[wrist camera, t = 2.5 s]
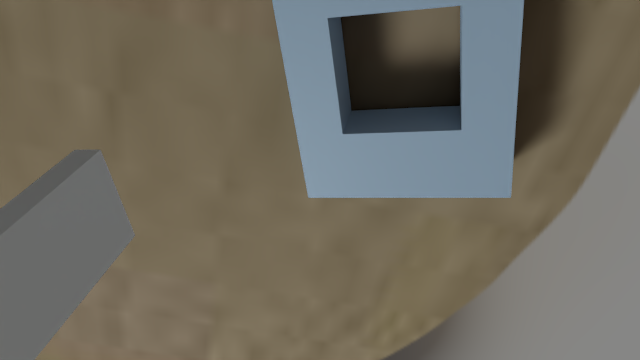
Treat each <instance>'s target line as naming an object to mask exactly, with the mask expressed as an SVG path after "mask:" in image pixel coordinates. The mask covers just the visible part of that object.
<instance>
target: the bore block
mask: <svg viewBox="0 0 640 360" xmlns="http://www.w3.org/2000/svg"><path fill="white" fill-rule="evenodd" d="M272 2H273V7H274V13H275V18H276V24H277V29H278V35H279V40H280V46H281V51H282V56H283V62H284V67H285V73H286V78H287V84H288V89H289V95H290V100H291V106H292V111H293V116H294V122H295V127H296V133H297V138H298V144H299V149H300V155H301V160H302V166H303V171H304V176H305V182H306V187H307V193H308V198H511V188H512V173H513V158H514V143H515V128H516V113H517V98H518V83H519V68H520V53H521V38H522V23H523V9H524V0H272ZM449 6H460V106H443V107H421V108H399V109H377V110H356V111H352V110H351V102H350V93H349V85H348V76H347V68H346V59H345V51H344V42H343V34H342V25H341V17H344V16H354V15H365V14H376V13H386V12H397V11H407V10H418V9H428V8H439V7H449Z"/></svg>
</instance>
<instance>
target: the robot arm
mask: <svg viewBox="0 0 640 360" xmlns="http://www.w3.org/2000/svg"><path fill="white" fill-rule="evenodd" d="M134 236H135V234H134V232H133V229H132V227H131V224H130V222H129V219H128V217H127V214H126V212H125V209H124V207H123V204H122V202H121V199H120V197H119V194H118V192H117V189H116V187H115V185H114V182H113V180H112V177H111V175H110V172H109V170H108V167H107V165H106V162H105V160H104V157H103V155H102V152H101V150H74V151H73V152H71V153H70V154H69V155H68V156H66V157H65V158H64V159H63V160H61V161H60V162H59V163H58V164H56V165H55V166H54V167H52V168H51V169H50V170H49V171H47V172H46V173H45V174H44V175H42V176H41V177H40V178H39V179H37V180H36V181H35V182H34V183H32V184H31V185H30V186H29V187H27V188H26V189H25V190H24V191H22V192H21V193H20V194H19V195H17V196H16V197H15V198H14V199H12V200H11V201H10V202H9V203H7V204H6V205H5V206H4V207H2V208H1V209H0V360H34V359H35V358H36V357H37V356H38V354H39V353H40V352H41V351H42V349H43V348H44V347H45V346H46V345H47V343H48V342H49V341H50V340H51V338H52V337H53V336H54V335H55V333H56V332H57V331H58V330H59V329H60V327H61V326H62V325H63V324H64V322H65V321H66V320H67V319H68V317H69V316H70V315H71V314H72V313H73V311H74V310H75V309H76V308H77V306H78V305H79V304H80V303H81V301H82V300H83V299H84V298H85V297H86V295H87V294H88V293H89V292H90V290H91V289H92V288H93V287H94V285H95V284H96V283H97V282H98V280H99V279H100V278H101V277H102V276H103V274H104V273H105V272H106V271H107V269H108V268H109V267H110V266H111V264H112V263H113V262H114V261H115V260H116V258H117V257H118V256H119V255H120V253H121V252H122V251H123V250H124V248H125V247H126V246H127V245H128V244H129V242H130V241H131V240H132V239H133V237H134Z"/></svg>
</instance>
